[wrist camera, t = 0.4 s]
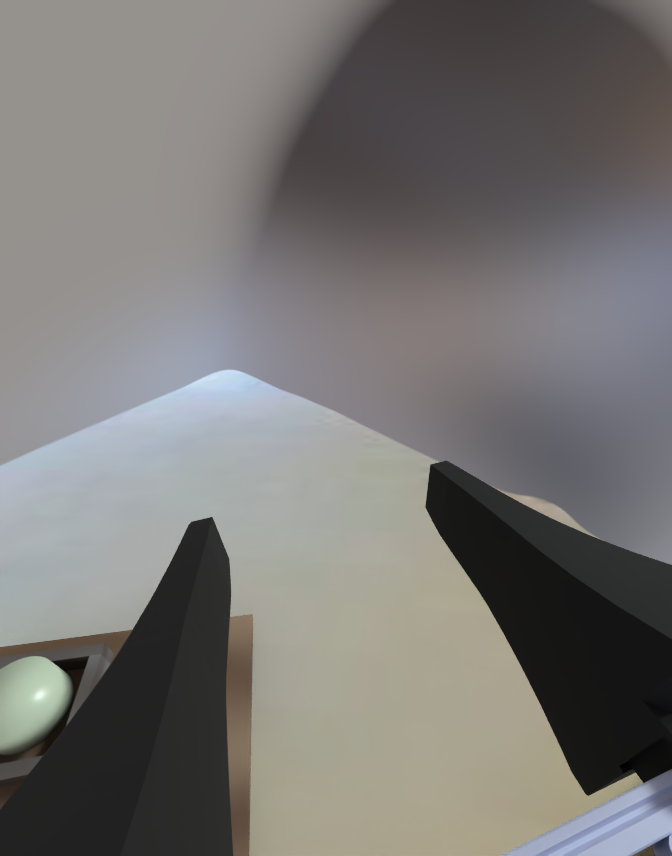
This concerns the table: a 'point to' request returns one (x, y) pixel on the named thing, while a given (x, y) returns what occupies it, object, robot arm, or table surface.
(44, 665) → the sage key
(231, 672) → the key panel
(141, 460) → the table surface
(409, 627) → the table surface
